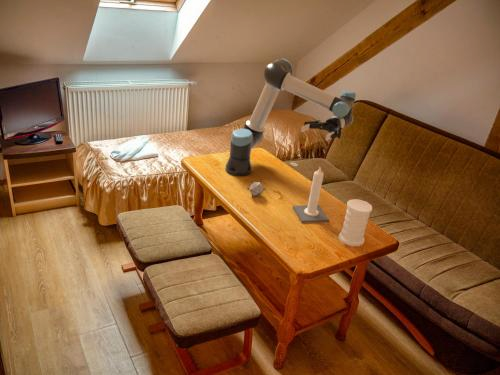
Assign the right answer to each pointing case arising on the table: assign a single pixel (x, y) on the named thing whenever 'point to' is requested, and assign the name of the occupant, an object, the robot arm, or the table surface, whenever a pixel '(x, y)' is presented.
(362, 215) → the decorative container
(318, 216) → the slate tile
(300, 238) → the table surface
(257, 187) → the game die
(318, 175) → the candle
